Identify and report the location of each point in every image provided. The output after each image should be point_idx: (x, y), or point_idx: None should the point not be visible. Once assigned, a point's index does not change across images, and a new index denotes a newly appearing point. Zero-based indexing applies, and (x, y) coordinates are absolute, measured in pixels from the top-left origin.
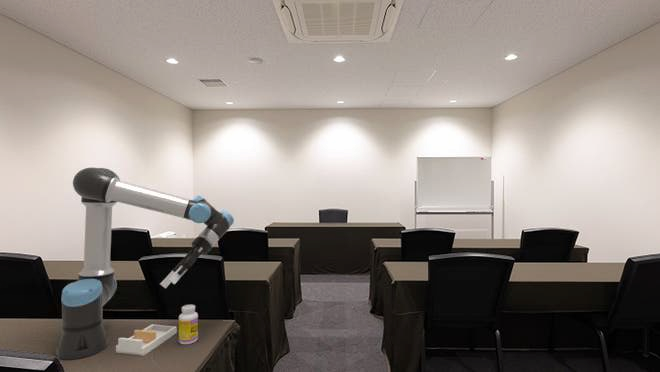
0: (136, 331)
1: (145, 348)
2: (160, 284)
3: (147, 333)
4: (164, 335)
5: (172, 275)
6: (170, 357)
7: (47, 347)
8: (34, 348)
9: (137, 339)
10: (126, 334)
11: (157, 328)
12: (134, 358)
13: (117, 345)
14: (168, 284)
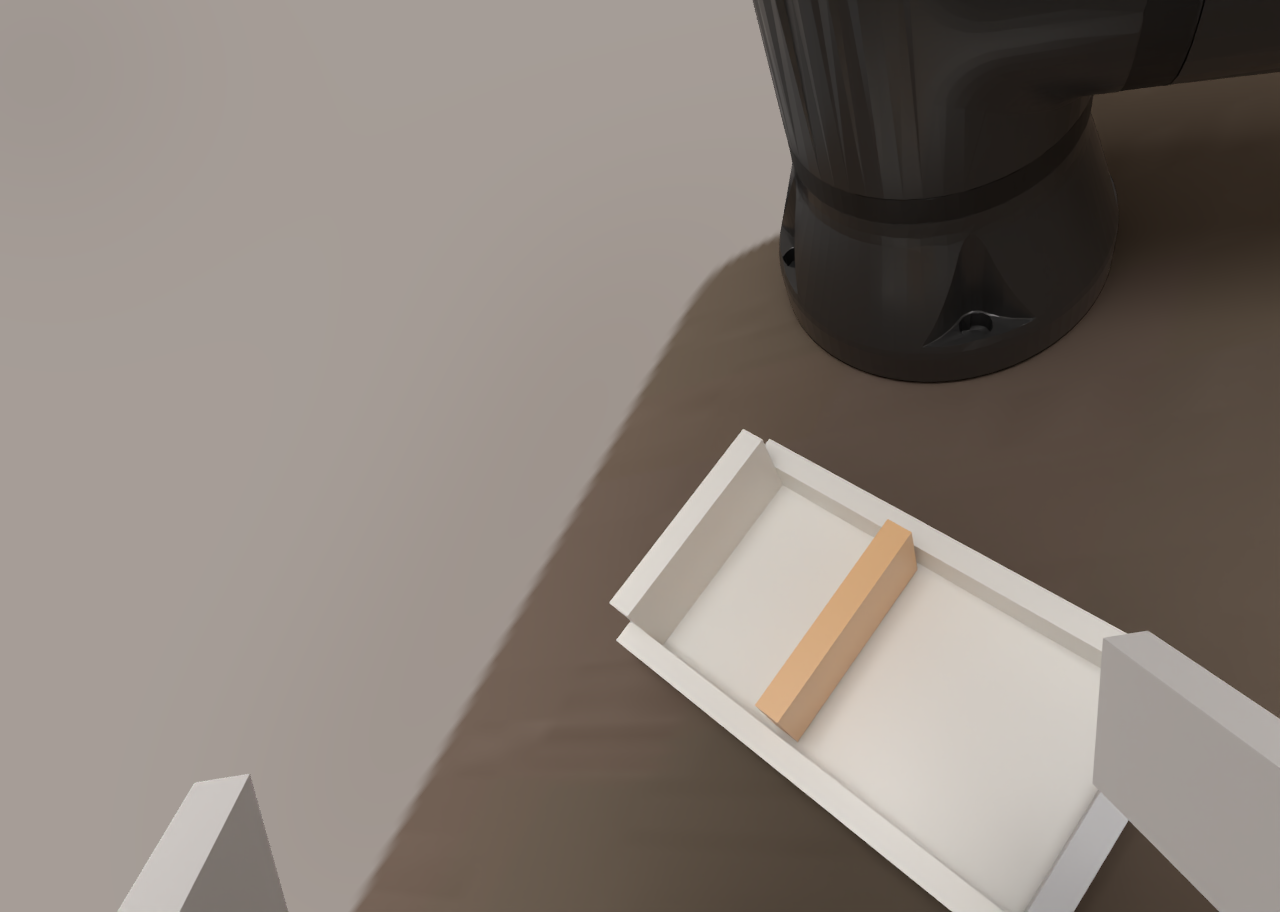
0: (874, 541)
1: (636, 655)
2: (1142, 647)
3: (801, 644)
4: (834, 816)
5: (141, 881)
6: (512, 857)
7: None
8: None
9: (656, 573)
10: (1151, 468)
11: None
12: None
13: (766, 448)
14: (1163, 845)
